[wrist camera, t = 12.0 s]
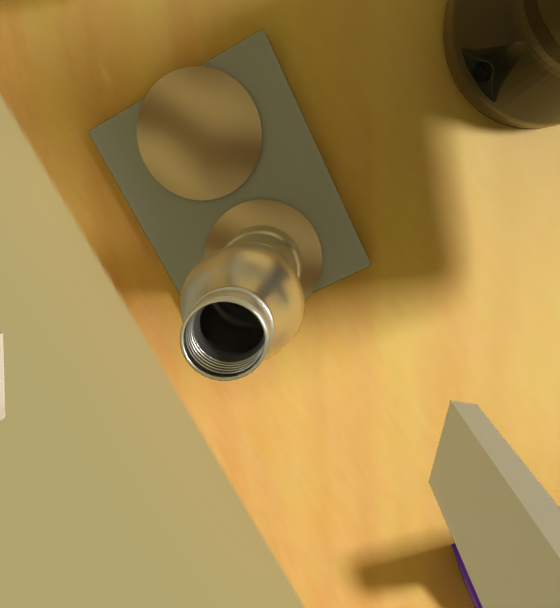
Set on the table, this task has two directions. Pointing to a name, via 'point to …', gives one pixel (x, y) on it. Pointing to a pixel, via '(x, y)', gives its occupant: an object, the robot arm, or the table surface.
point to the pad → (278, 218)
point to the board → (260, 185)
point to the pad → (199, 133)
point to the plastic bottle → (242, 303)
